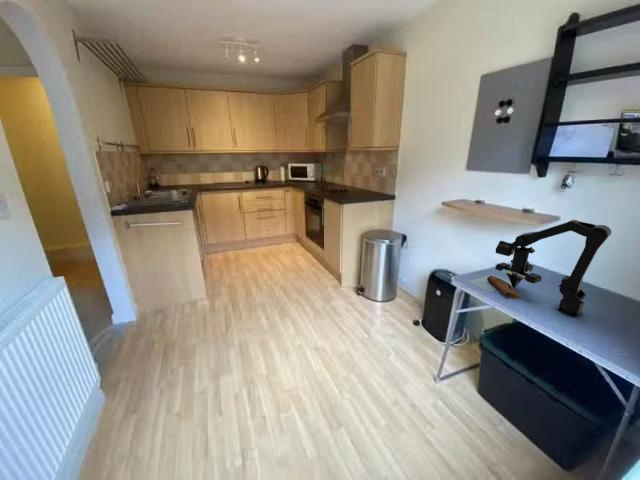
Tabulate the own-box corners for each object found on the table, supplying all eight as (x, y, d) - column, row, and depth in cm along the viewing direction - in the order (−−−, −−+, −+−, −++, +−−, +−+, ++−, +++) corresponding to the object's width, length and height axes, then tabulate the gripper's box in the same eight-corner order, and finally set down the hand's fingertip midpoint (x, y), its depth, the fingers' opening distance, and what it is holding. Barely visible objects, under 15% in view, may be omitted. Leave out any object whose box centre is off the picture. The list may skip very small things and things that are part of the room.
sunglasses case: (523, 297, 130) (518, 286, 129) (508, 303, 132) (503, 293, 130) (502, 280, 147) (498, 270, 146) (489, 286, 149) (485, 276, 147)
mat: (515, 284, 145) (515, 283, 144) (489, 292, 137) (489, 292, 137) (492, 275, 156) (492, 274, 156) (467, 282, 149) (467, 281, 149)
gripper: (552, 262, 125) (544, 292, 130) (511, 250, 142) (506, 277, 147) (537, 267, 121) (530, 297, 126) (497, 253, 138) (492, 281, 143)
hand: (514, 287), depth 136 cm, fingers closed
